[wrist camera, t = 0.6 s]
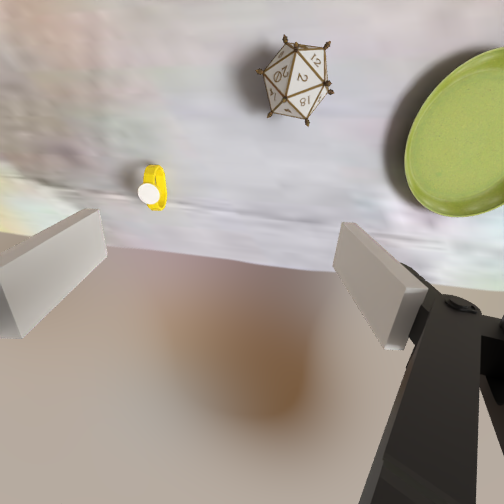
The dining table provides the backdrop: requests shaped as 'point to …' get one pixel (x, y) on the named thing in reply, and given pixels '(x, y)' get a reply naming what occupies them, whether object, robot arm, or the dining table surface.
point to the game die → (296, 80)
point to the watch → (153, 188)
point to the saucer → (460, 141)
